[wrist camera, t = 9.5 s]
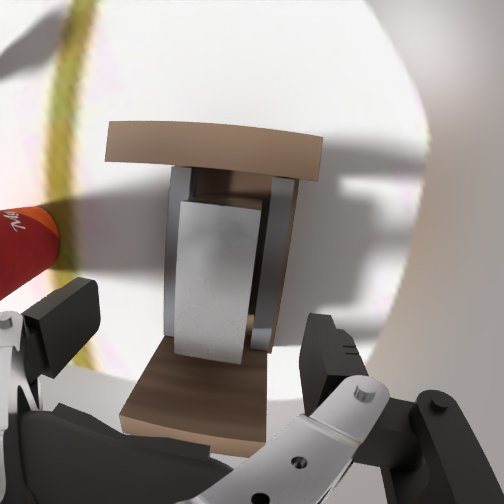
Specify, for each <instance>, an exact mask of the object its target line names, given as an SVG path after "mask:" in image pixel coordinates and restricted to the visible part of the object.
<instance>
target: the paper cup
mask: <svg viewBox="0 0 504 504" xmlns="http://www.w3.org/2000/svg"><path fill="white" fill-rule="evenodd" d="M59 248H60V238H59V232H58V228H57V226H56V223H55V221H54V219H53V218H52V216H51V215H50V214H49V213H48V212H47V211H46V210H44V209H43V208H40V207H23V208H14V209H7V210H0V301H1V300H2V299H3V298H5V297H6V296H8V295H9V294H11V293H12V292H13V291H15V290H16V289H18V288H19V287H21V286H22V285H24V284H25V283H27V282H28V281H30V280H31V279H33V278H34V277H36V276H37V275H39V274H40V273H42V272H43V271H45V270H46V269H47V268H49V267H50V266H51V265H52V264H53V263H54V262H55V261H56V259H57V256H58V253H59Z"/></svg>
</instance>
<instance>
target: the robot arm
mask: <svg viewBox="0 0 504 504" xmlns="http://www.w3.org/2000/svg"><path fill="white" fill-rule="evenodd" d="M100 320H101V317H100V306H99V295H98V285H97V282H96V281H95V280H91V279H86V278H81V277H77V278H75V279H74V280H72V281H71V282H69V283H68V284H66V285H65V286H63V287H62V288H60V289H57V290H54V291H53V292H51V293H50V294H49V295H47V297H44V298H43V299H41V301H38V302H37V303H36V304H34V305H33V306H31V307H30V308H28V309H27V310H26V311H24V312H23V313H21V314H20V313H18V312H15V311H4V312H0V504H323V503H324V502H325V501H326V499H327V498H328V497H329V496H330V494H331V493H332V492H333V491H334V489H335V488H336V487H337V485H338V484H339V483H340V481H341V480H342V479H343V477H344V476H345V475H346V473H347V472H348V470H349V469H350V468H351V466H352V465H353V463H354V462H356V463H361V464H367V465H371V466H377V467H380V469H381V474H382V478H383V483H384V488H385V492H386V498H387V503H388V504H504V494H503V492H502V490H501V488H500V485H499V483H498V481H497V479H496V477H495V474H494V472H493V470H492V468H491V466H490V464H489V462H488V460H487V458H486V456H485V454H484V452H483V450H482V448H481V446H480V444H479V442H478V440H477V438H476V437H475V435H474V433H473V431H472V429H471V427H470V425H469V423H468V422H467V420H466V418H465V416H464V415H463V413H462V411H461V409H460V407H459V406H458V404H457V402H456V401H455V400H454V399H453V398H452V397H451V396H449V395H448V394H446V393H444V392H441V391H438V390H426V391H423V392H421V393H420V394H419V395H418V397H417V399H416V401H415V402H409V401H404V400H399V399H394V398H391V397H390V394H389V391H388V389H387V387H386V386H385V385H384V384H382V383H381V382H380V381H378V380H376V379H374V378H372V377H369V375H368V373H367V370H366V368H365V366H364V363H363V361H362V359H361V356H360V355H359V352H358V350H357V348H356V345H355V343H354V341H353V338H352V337H351V336H350V335H349V334H348V333H346V332H345V331H344V330H341V329H336V327H335V324H334V322H333V319H332V317H331V315H324V314H314V313H310V314H309V316H308V319H307V324H306V328H305V333H304V337H303V341H302V346H301V350H300V356H299V370H300V378H301V386H302V393H303V401H304V409H305V414H300V415H299V416H297V418H295V419H294V420H293V421H292V422H291V423H290V424H289V425H288V426H286V427H285V428H284V429H283V430H282V431H281V432H280V433H279V434H277V435H276V436H275V437H274V438H273V439H272V440H270V441H269V442H268V443H267V444H266V445H264V446H263V447H262V448H261V449H260V450H258V451H257V452H256V453H255V454H254V455H252V456H251V457H250V458H249V459H247V460H246V461H245V462H244V463H242V464H241V465H240V466H238V467H237V468H236V469H233V468H231V467H230V466H228V465H226V464H224V463H222V462H220V461H218V460H216V459H213V458H210V450H211V446H210V445H204V444H198V443H193V442H188V441H183V440H178V439H173V438H169V437H149V436H134V435H125V434H122V433H120V432H118V431H116V430H115V429H113V428H111V427H110V426H108V425H106V424H104V423H103V422H101V421H100V420H98V419H96V418H95V417H93V416H92V415H90V414H87V413H84V412H81V411H79V410H76V409H74V408H71V407H68V406H66V405H64V404H61V403H59V404H58V405H57V406H56V407H55V409H54V410H53V411H52V412H51V411H43V405H42V392H41V382H40V379H39V376H40V375H41V374H43V375H46V376H48V377H50V378H53V379H54V378H55V377H56V376H57V375H58V374H59V373H60V371H61V370H62V369H63V368H64V367H65V366H66V365H67V364H68V363H69V361H70V360H71V359H72V358H73V357H74V356H75V355H76V354H77V353H78V351H79V350H80V349H81V348H82V347H83V346H84V345H85V344H86V343H87V342H88V341H89V340H90V338H91V337H92V336H93V335H94V334H95V333H96V332H97V331H98V329H99V326H100Z"/></svg>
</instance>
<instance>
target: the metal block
mask: <svg viewBox="0 0 504 504" xmlns="http://www.w3.org/2000/svg"><path fill="white" fill-rule="evenodd" d="M262 201H263V199H256V198H248V197H240V196H231V195H223V194H214V193H204V194H201V195H198V196H195V197H192V198H189V199H186V200H183V201H181V206H180V218H179V231H178V246H177V263H176V285H175V318H174V353H175V354H180V355H185V356H191V357H197V358H203V359H209V360H215V361H221V362H228V363H235V364H241V360H242V352H243V345H244V338H245V331H246V323H247V316H248V309H249V301H250V293H251V286H252V278H253V271H254V263H255V255H256V248H257V240H258V232H259V225H260V217H261V209H262Z"/></svg>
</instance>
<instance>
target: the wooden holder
mask: <svg viewBox="0 0 504 504" xmlns="http://www.w3.org/2000/svg"><path fill="white" fill-rule="evenodd" d="M322 142H323V137H319V136H313V135H307V134H301V133H295V132H288V131H281V130H273V129H265V128H257V127H248V126H238V125H227V124H214V123H198V122H176V121H109V128H108V136H107V145H106V154H105V162H130V163H150V164H167V165H175V166H174V167H172V169H171V179H170V190H169V202H168V215H167V230H166V247H165V271H164V335H165V336H164V338H163V340H162V341H161V343H160V345H159V346H158V348H157V350H156V351H155V353H154V355H153V356H152V358H151V360H150V361H149V363H148V365H147V367H146V368H145V370H144V372H143V373H142V375H141V377H140V379H139V380H138V382H137V384H136V385H135V387H134V389H133V391H132V393H131V394H130V396H129V398H128V399H127V401H126V403H125V405H124V406H123V408H122V410H121V412H120V413H119V418H120V422H121V427H122V431H123V433H126V434H130V435H134V436H149V437H169V438H173V439H178V440H183V441H188V442H193V443H198V444H204V445H210V446H211V450H210V453H215V454H222V455H229V456H237V457H245V458H250V457H251V456H252V455H254V454H255V453H256V452H257V451H258V450H260V449H261V448H262V447H263V446H264V445H265V444H266V410H267V409H266V408H267V407H266V406H267V405H266V404H267V353H269V354H271V352H272V347H273V342H274V336H275V331H276V325H277V319H278V314H279V308H280V302H281V296H282V290H283V284H284V278H285V272H286V266H287V259H288V253H289V247H290V240H291V233H292V227H293V220H294V213H295V206H296V199H297V192H298V185H299V179H304V180H310V181H318V173H319V166H320V158H321V150H322ZM204 193H214V194H223V195H231V196H240V197H248V198H256V199H263V201H262V209H261V217H260V225H259V232H258V240H257V248H256V255H255V263H254V271H253V278H252V286H251V293H250V301H249V309H248V316H247V323H246V331H245V338H244V345H243V352H242V360H241V364H235V363H228V362H221V361H215V360H209V359H203V358H197V357H191V356H185V355H180V354H175V353H174V318H175V285H176V263H177V246H178V231H179V218H180V206H181V201H183V200H186V199H189V198H192V197H195V196H198V195H201V194H204Z"/></svg>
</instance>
